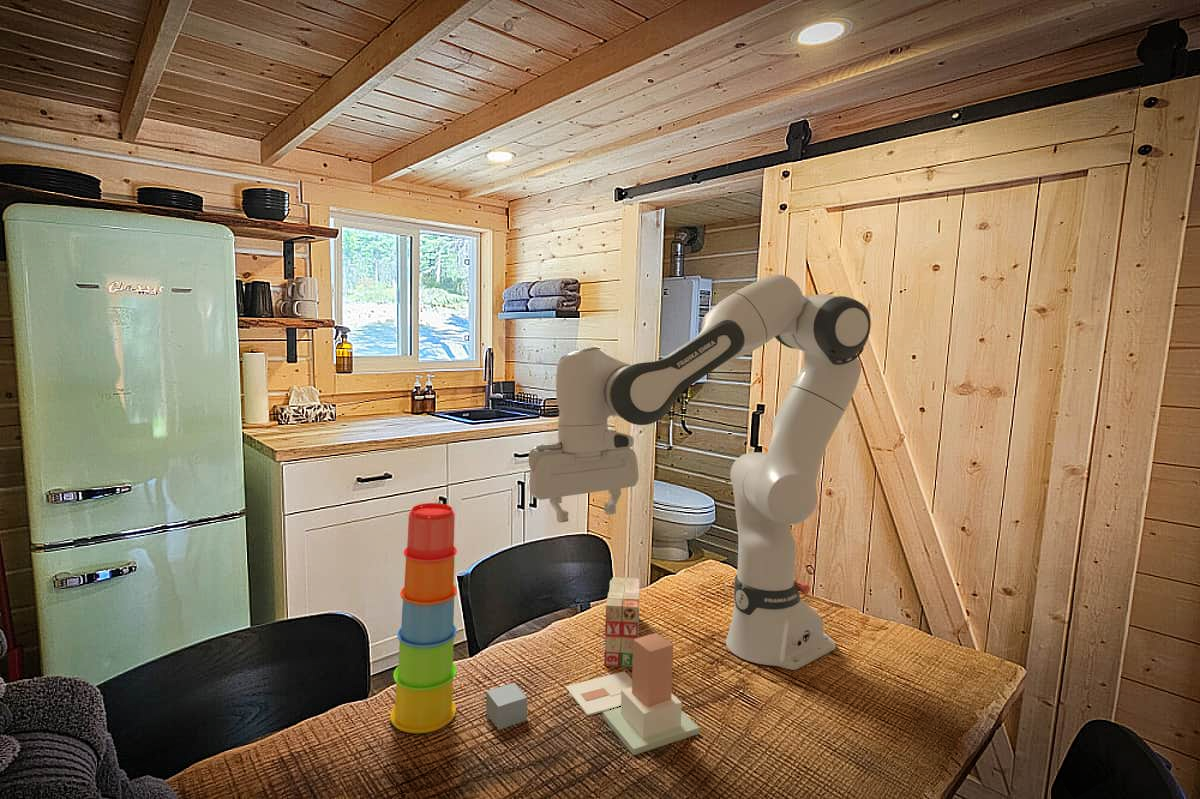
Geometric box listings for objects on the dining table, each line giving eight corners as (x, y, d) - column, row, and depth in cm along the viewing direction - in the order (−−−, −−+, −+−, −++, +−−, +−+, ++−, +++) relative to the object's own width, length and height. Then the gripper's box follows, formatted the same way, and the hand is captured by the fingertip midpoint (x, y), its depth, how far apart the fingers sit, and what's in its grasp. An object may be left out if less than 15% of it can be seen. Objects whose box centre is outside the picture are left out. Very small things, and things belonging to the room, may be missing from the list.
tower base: (664, 700, 105) (665, 672, 105) (699, 733, 97) (700, 703, 96) (602, 718, 100) (603, 688, 99) (633, 755, 91) (634, 723, 91)
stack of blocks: (611, 616, 137) (612, 563, 136) (639, 618, 137) (640, 564, 135) (603, 667, 116) (605, 604, 115) (637, 669, 115) (639, 606, 114)
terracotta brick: (654, 685, 101) (656, 632, 100) (671, 699, 97) (673, 644, 96) (631, 693, 98) (633, 639, 98) (648, 707, 95) (650, 651, 94)
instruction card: (624, 672, 114) (624, 670, 114) (650, 698, 106) (650, 696, 106) (565, 687, 108) (565, 685, 108) (587, 716, 100) (587, 713, 100)
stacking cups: (442, 690, 107) (442, 495, 103) (466, 720, 98) (467, 509, 95) (382, 709, 101) (379, 503, 97) (402, 743, 92) (400, 519, 89)
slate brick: (514, 705, 103) (514, 682, 103) (527, 720, 99) (527, 697, 99) (486, 714, 101) (486, 691, 100) (498, 730, 96) (498, 706, 96)
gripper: (534, 447, 101) (539, 530, 101) (641, 436, 110) (644, 512, 111) (521, 444, 107) (525, 523, 107) (623, 434, 116) (627, 506, 116)
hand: (586, 517), depth 109 cm, fingers open, 8 cm apart
